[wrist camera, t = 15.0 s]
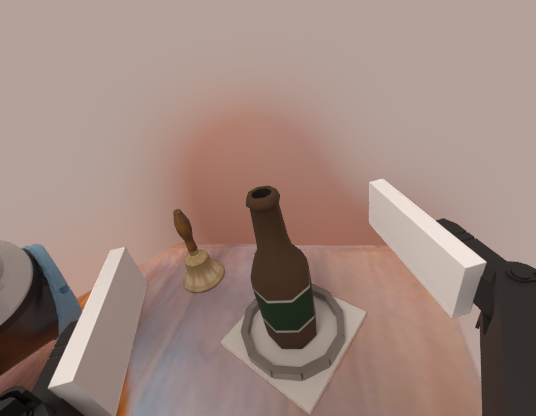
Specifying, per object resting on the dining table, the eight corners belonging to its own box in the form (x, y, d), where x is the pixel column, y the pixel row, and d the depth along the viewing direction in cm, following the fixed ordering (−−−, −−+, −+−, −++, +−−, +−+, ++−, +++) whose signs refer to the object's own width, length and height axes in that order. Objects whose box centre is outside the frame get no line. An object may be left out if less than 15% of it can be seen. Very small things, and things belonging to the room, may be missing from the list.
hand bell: (205, 256, 61) (179, 194, 53) (232, 269, 56) (208, 203, 48) (175, 283, 56) (141, 219, 48) (202, 299, 51) (169, 232, 43)
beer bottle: (326, 314, 43) (309, 176, 30) (307, 361, 38) (277, 219, 25) (281, 300, 47) (249, 172, 34) (258, 341, 42) (210, 208, 29)
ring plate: (221, 345, 43) (217, 336, 42) (283, 275, 52) (281, 267, 51) (310, 415, 33) (308, 407, 32) (366, 315, 43) (366, 305, 41)
